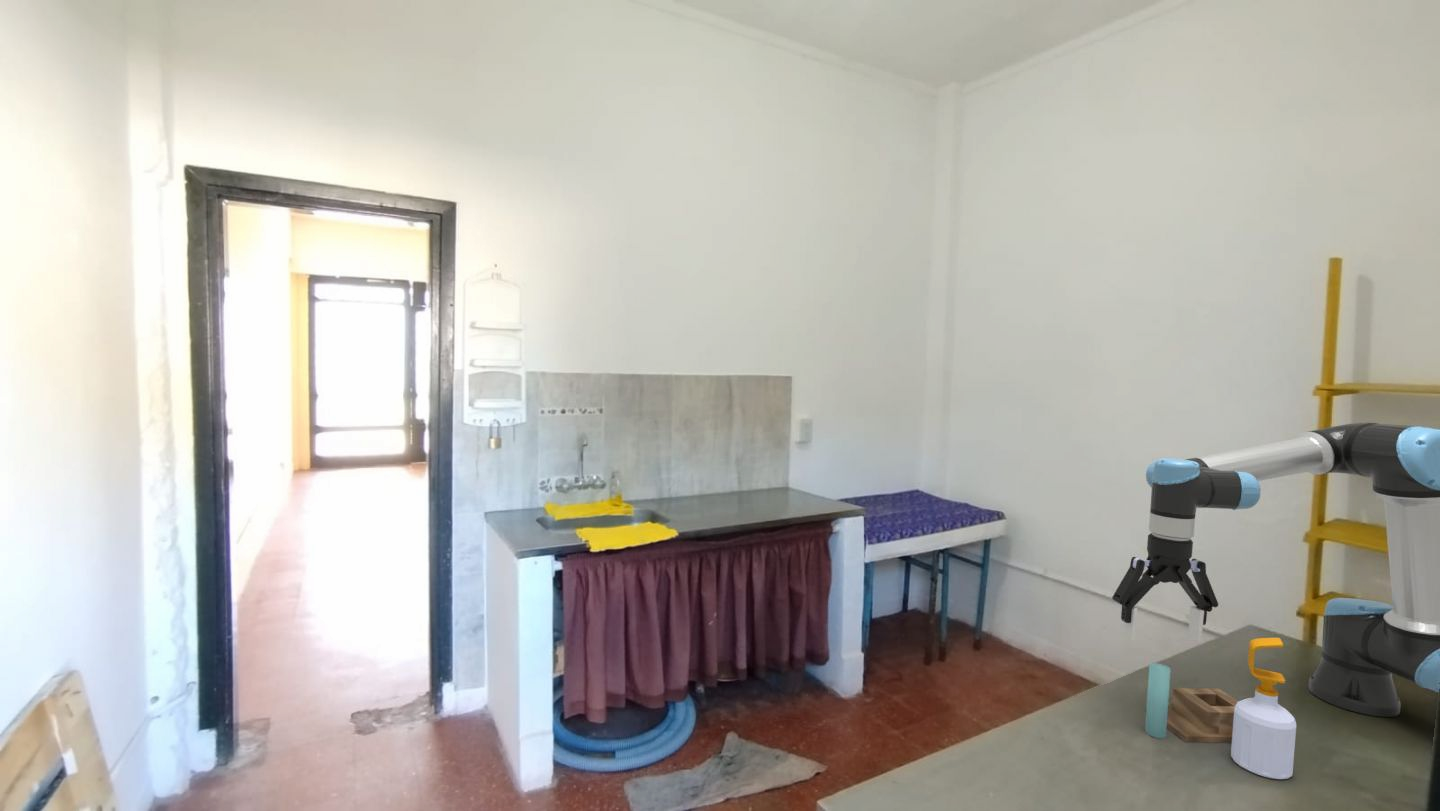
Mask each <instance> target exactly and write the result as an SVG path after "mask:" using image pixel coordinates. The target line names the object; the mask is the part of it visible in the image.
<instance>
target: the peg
mask: <svg viewBox="0 0 1440 811" xmlns="http://www.w3.org/2000/svg"><path fill="white" fill-rule="evenodd" d="M1148 665H1149V666H1148V678H1147V679H1148V681H1147V693H1146V694H1147V697H1146V705H1147V708H1146V707H1145V725H1144V732H1145V733H1146V734H1147V735H1148V736H1150V737H1152V738H1156V739H1162V740H1163V739H1166V737H1167V730H1168V728H1167V715H1168V706H1169V696H1170V683H1171V668H1170V667H1169V666H1168V665H1165V664H1163V663H1158V662H1151V663H1149V664H1148Z"/></svg>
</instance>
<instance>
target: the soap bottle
mask: <svg viewBox="0 0 1440 811" xmlns="http://www.w3.org/2000/svg"><path fill="white" fill-rule="evenodd" d="M1282 647H1284V643H1283V641H1282V639H1281V638H1280V637H1261V638H1260V637H1259V638H1258V637H1257V638H1253V639H1251V640H1250V641H1249V642H1248V655H1247V666H1248V667H1249V670H1250V673H1251V675H1252V676H1253V677H1255V678H1257V679H1258V681H1260V682H1261V685H1260V684H1259V685H1255V689H1254V696H1252V697H1247V698H1245V699H1241V700H1238V701H1239V702H1237V704H1236V705H1235V708H1234V720H1233V733H1232V743H1231V746H1230V747H1231V749H1230V757H1231V758H1232V759H1233V762H1235V764H1238V766H1240V767H1241V768H1243V769H1245V770H1246V771H1249V772H1251V773H1253V774H1255V775H1258V776H1261V777H1265V778H1269V779H1273V780H1287V779H1290V778H1291V777H1292V776H1293V773H1294V772H1293V771H1294V770H1293V769H1294V762H1295V760H1294V759H1295V746H1296V734H1297V722H1296V718H1295V717H1294V716H1293V714H1291V713H1290V712H1289V711H1288V710H1287V709H1286V708H1285V707H1283V706H1281V705H1280V704H1279V701H1278V699H1279V691H1278V690H1277V689H1275V688H1274V685H1278V684H1277V683H1280V684H1285V683H1286V680H1285V677H1284V675H1283V674H1282V673H1279V672H1275V671H1272V670H1271V671H1270V670H1266V669H1262V668H1257V667H1254V666H1255V655H1256V651H1257V650H1259V649H1268V648H1269V649H1270V648H1282Z"/></svg>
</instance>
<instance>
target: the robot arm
mask: <svg viewBox="0 0 1440 811" xmlns="http://www.w3.org/2000/svg"><path fill="white" fill-rule="evenodd" d="M1304 473H1309V474H1312V475H1325V474H1331V473H1332V474H1334V473H1335V474H1346V475H1354V476H1361V477H1365V478H1370V479H1372V480H1371V482H1372V491H1373V494H1376V496H1378V497H1379V498H1381V499H1383V502H1384V503H1383V504H1384V514H1385V515H1384V516H1385V526H1386V527H1385V528H1386V539H1387V550H1388V551H1387V552H1388V564H1389V565H1388V566H1389V576H1390V588H1391V590H1390V591H1391V599H1392V604H1390V603H1385V602H1381V601H1376V600H1370V599H1369V600H1368V599H1361V598H1354V597H1353V598H1351V597H1335V598H1331V599H1329V600H1328V601H1327V602H1326V605H1325V610H1324V613H1323V626H1322V627H1323V628H1322V645H1321V657H1320V660H1319V662H1318V663H1317V665H1316V667H1315V669H1314V671H1313V674H1312V675H1310V677H1309V680H1308V681H1309V682H1308V691H1309V692H1310V693H1311V694H1312V695H1314V696H1315V697H1317V698H1318V699H1320V700H1322V701H1324V702H1326V703H1328V704H1331V705H1333V706H1336V707H1337V708H1338V707H1339V708H1341V709H1345V710H1348V711H1350V712H1355V713H1359V714H1363V715H1367V716H1374V717H1380V718H1381V717H1384V718H1387V717H1388V718H1390V717H1397V716H1399V715H1400V714H1401V707H1402V706H1401V700H1400V698H1399V696H1398V694H1397V689H1396V686H1395V682H1394V678H1393V674H1394V675H1396V676H1398V677H1401V678H1403V679H1406V680H1407V681H1410V682H1412V683H1415V684H1416V685H1418V686H1419V687H1421V688H1423V689H1429V690H1432V691H1433V692H1436V693H1438V694H1440V693H1439V689H1440V684H1439V683H1440V429H1437V428H1431V427H1428V426H1427V427H1426V426H1423V425H1422V426H1420V425H1419V426H1418V425H1402V424H1401V425H1400V424H1389V423H1386V424H1385V423H1378V422H1377V423H1376V422H1355V423H1354V422H1353V423H1345V424H1341V425H1336V426H1335V425H1334V426H1331V427H1324V428H1320V429H1314V430H1309V431H1304V432H1301V433H1299V434H1297V435H1296V436H1295V438H1291V439H1287V440H1280V441H1276V442H1275V441H1274V442H1272V443H1265V444H1261V445H1256V446H1250V447H1245V448H1240V449H1234V450H1228V451H1224V452H1219V453H1214V454H1209V455H1207V454H1206V455H1203V456H1198V457H1191V458H1187V459H1184V458H1169V457H1164V458H1159V459H1156V460H1154V461H1152V462H1151V463H1150V464H1149V465H1148V467H1147V469H1146V472H1145V479H1146V483H1147V484H1148V485H1149V487H1150V488H1151V495H1150V496H1151V497H1150V510H1149V522H1148V531H1149V532H1150V533H1149V534H1148V536H1147V546H1146V551H1147V558H1146V559H1142V558H1139V557H1136V556H1133V557H1131V559H1130V565H1129V567H1128V569H1127V571H1126V573H1125V574H1124V576H1123V578H1122V580H1121V582H1120V583H1119V585H1118V587H1117V589H1115V592H1114V593H1113V595H1112V598H1111V599H1112V600H1113V601H1114V602H1116V603H1118V604H1120V605H1121V611H1120V612H1121V614H1120V619H1121V621H1122V622H1123V630H1122V631H1123V632H1122V636H1123V637H1125V638H1127V639H1128V640H1130V641H1132V642H1133V641H1134V642H1136V634H1137V623H1138V613H1139V612H1138V611H1139V609H1138V608H1137V607H1135V606H1136V605H1138V603H1139V602H1140V601H1141V600H1142V599H1143V598H1144V597H1145V595H1147V594H1148V593H1149V591H1151V589H1153V587H1154V586H1157V585H1158V584H1160V583H1165V584H1166V583H1174V584H1179V585H1180V586H1181V589H1183V590H1184V593H1185V594H1187V596H1188V597H1189V599H1190V600H1191V601H1192V602H1193V604H1194V605H1190V606H1189V607H1190V610H1189V618H1188V620H1189V621H1188V622H1189V623H1188V631H1187V637H1188V638H1189V639H1191V640H1193V641H1194V642H1196V643H1200V644H1201V643H1202V638H1203V628H1204V626H1206V624H1207V618H1208V612H1212V611H1213V608H1217V607H1219V602H1218V599H1217V597H1216V595H1215V593H1214V592H1215V591H1214V589H1213V586H1212V585H1211V582H1210V579H1209V577H1208V575H1207V567H1206V566H1207V565H1206V563H1205V562H1204V561H1202V560H1199V559H1196V558H1193V548H1194V546H1193V545H1194V541H1193V540H1192V538H1194V536H1195V526H1196V525H1195V524H1196V523H1195V522H1196V515H1197V514H1196V513H1197V509H1201V508H1203V509H1221V510H1222V509H1223V510H1224V509H1226V510H1227V509H1229V510H1234V511H1235V510H1236V511H1237V510H1244V509H1251V508H1253V507H1255V506H1256V505H1257V504H1258V502H1259V500H1260V498H1261V484H1260V481H1261V482H1262V481H1265V480H1273V479H1277V478H1278V479H1279V478H1282V477H1288V476H1293V475H1299V474H1304ZM1191 558H1192V559H1191ZM1190 559H1191V560H1190ZM1189 571H1191V573H1192V576H1193V578H1194V581H1195V584H1196V585H1197V587H1196V586H1195V585H1194V583H1193V581H1192V579H1191V578H1190V576H1189V575H1188V572H1189ZM1197 588H1198V589H1197Z"/></svg>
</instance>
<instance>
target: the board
mask: <svg viewBox="0 0 1440 811" xmlns="http://www.w3.org/2000/svg"><path fill="white" fill-rule="evenodd" d="M1171 699H1172V700H1171V702H1172V703H1171V705H1168V715H1167V730H1169V731H1171V733H1173V734H1175V735H1176V736H1177V737H1178V738H1179V739H1180V740H1182V741H1183V742H1184V743H1216V744H1217V743H1222V744H1224V743H1226V744H1227V743H1229V744H1230V743H1231V744H1232V733H1233V720H1234V708H1235V705H1236V704H1237V702H1239V701H1240V700H1238V699H1236V698H1234V697H1233V696H1231V695H1230V694H1228V693H1227V692H1225V691H1223V690H1221V689H1220V688H1210V687H1209V688H1207V687H1206V688H1205V687H1204V688H1203V687H1200V688H1199V687H1190V688H1189V687H1173V688H1172V698H1171ZM1146 708H1147V704H1146V705H1145V709H1146Z"/></svg>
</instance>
